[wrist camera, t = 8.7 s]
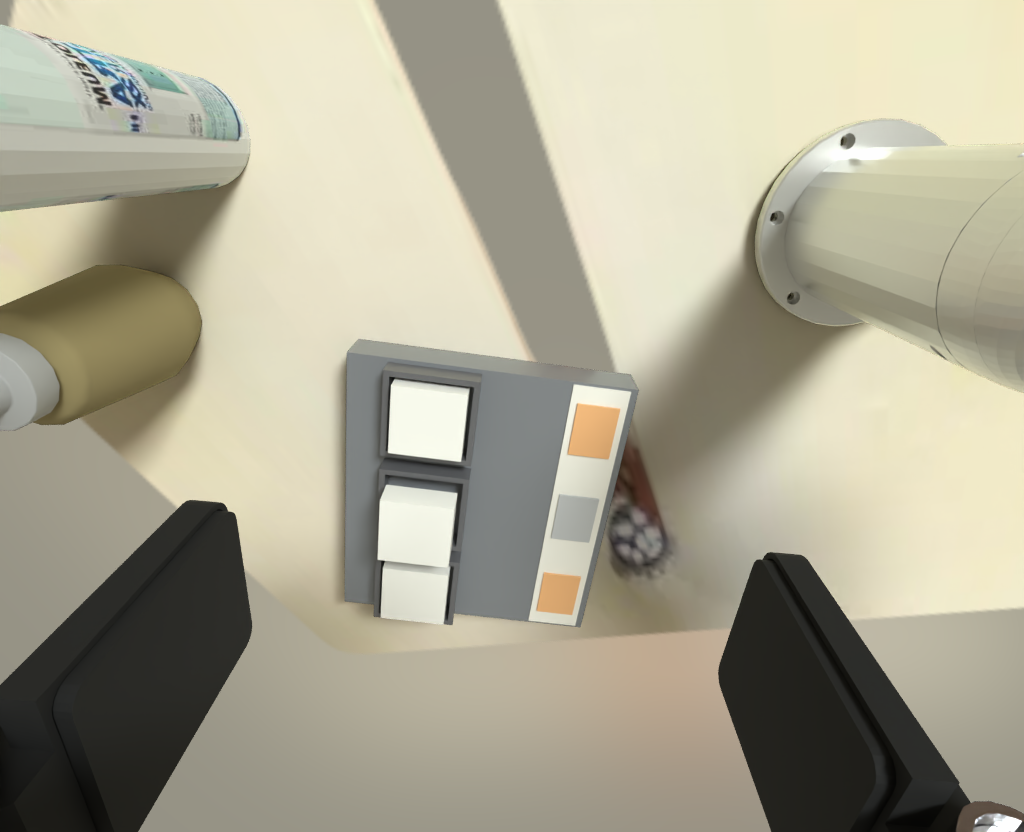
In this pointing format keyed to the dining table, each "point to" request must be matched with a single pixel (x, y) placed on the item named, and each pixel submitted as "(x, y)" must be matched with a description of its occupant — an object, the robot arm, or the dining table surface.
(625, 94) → the dining table surface
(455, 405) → the switch
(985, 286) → the robot arm
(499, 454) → the switch box
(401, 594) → the switch
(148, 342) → the squeeze bottle
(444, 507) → the switch
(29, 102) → the spray can
